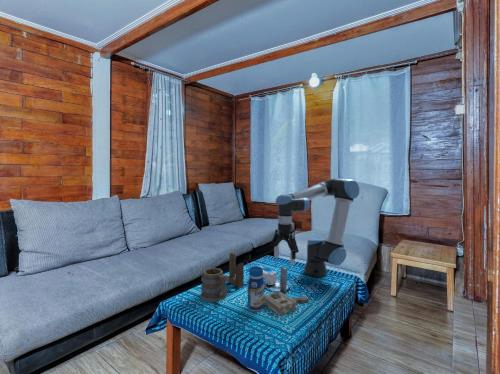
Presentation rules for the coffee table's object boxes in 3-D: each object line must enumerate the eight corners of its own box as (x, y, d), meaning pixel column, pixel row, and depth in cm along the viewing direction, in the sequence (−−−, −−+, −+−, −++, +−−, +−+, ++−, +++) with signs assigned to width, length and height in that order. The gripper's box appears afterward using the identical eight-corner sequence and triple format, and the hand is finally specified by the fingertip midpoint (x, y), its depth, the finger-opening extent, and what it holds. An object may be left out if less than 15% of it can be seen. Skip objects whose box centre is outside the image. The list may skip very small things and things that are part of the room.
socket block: (278, 297, 147) (279, 291, 147) (296, 308, 136) (296, 301, 136) (262, 302, 142) (262, 296, 141) (279, 314, 130) (279, 307, 130)
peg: (283, 290, 155) (284, 266, 155) (287, 293, 152) (288, 268, 152) (278, 292, 154) (279, 268, 153) (282, 294, 150) (283, 270, 150)
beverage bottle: (254, 301, 142) (254, 264, 141) (267, 307, 137) (267, 268, 136) (243, 308, 136) (244, 268, 134) (256, 314, 130) (257, 273, 129)
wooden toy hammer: (238, 287, 159) (239, 257, 157) (227, 282, 167) (227, 253, 166) (243, 286, 161) (244, 256, 160) (232, 280, 169) (232, 252, 168)
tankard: (196, 295, 149) (196, 268, 148) (216, 289, 157) (216, 263, 156) (216, 310, 133) (216, 280, 132) (237, 302, 141) (237, 274, 140)
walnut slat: (305, 299, 146) (306, 296, 146) (308, 302, 143) (308, 299, 143) (290, 301, 144) (290, 298, 144) (292, 304, 141) (292, 301, 141)
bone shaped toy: (251, 280, 171) (251, 268, 170) (261, 275, 177) (261, 263, 176) (268, 288, 160) (268, 275, 159) (278, 283, 166) (278, 270, 165)
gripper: (265, 220, 158) (265, 255, 160) (295, 228, 138) (294, 269, 139) (276, 218, 163) (275, 253, 164) (306, 226, 142) (305, 266, 143)
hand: (284, 260), depth 152 cm, fingers open, 13 cm apart
